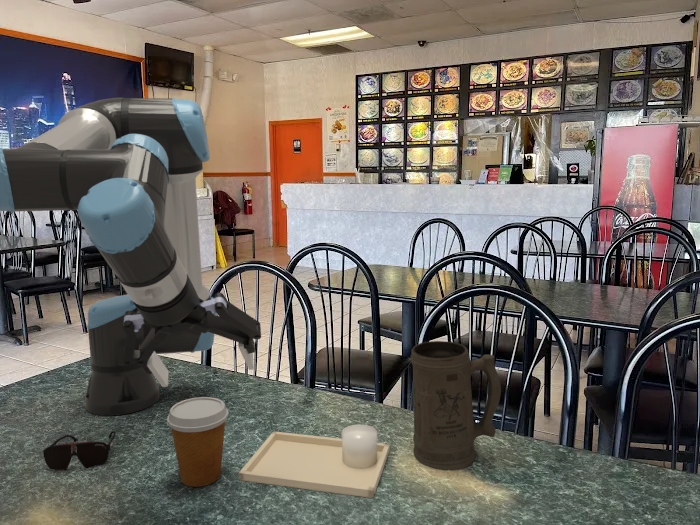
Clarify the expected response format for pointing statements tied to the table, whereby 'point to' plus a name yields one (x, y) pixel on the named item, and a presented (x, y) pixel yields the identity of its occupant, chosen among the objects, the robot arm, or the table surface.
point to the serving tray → (312, 465)
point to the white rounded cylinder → (359, 446)
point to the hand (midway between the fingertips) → (208, 370)
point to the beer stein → (449, 404)
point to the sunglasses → (86, 453)
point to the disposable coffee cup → (198, 438)
